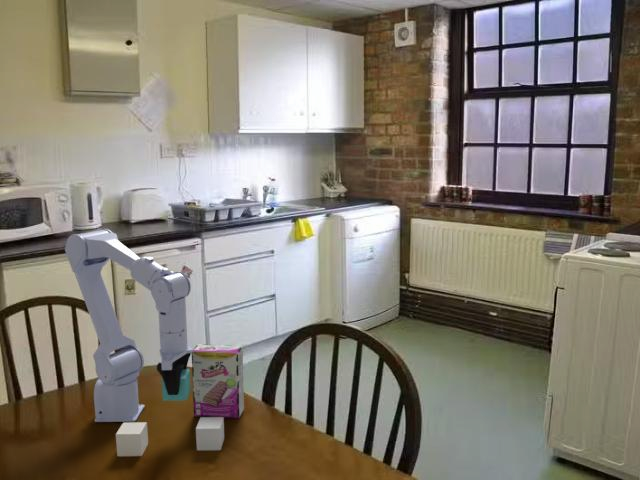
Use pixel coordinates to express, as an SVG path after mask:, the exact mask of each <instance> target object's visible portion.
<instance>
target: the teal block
mask: <svg viewBox="0 0 640 480" xmlns="http://www.w3.org/2000/svg"><path fill="white" fill-rule="evenodd" d="M191 389H192V386H191V370H190V369H188V368H186V369H183V370H182V373H181V378H180V388H179V393H178V395H168V393H167V390H166V386H165V383H164V380H163V378H162V377H161V390H162V402H164V401H168V402H169V401H175V402H176V401H187V399H188V397H189V395H190V394H191Z"/></svg>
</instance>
